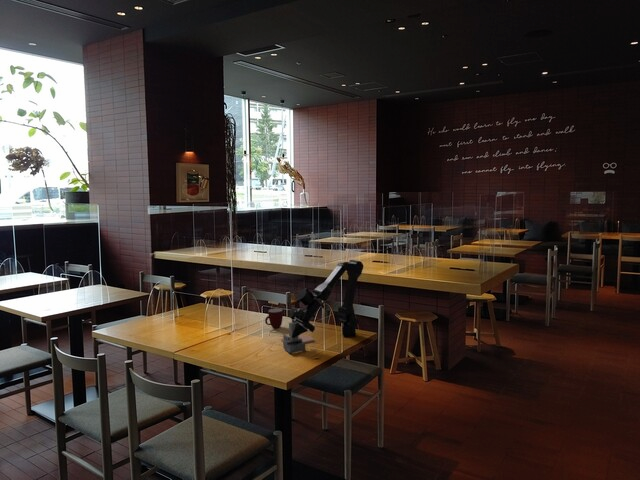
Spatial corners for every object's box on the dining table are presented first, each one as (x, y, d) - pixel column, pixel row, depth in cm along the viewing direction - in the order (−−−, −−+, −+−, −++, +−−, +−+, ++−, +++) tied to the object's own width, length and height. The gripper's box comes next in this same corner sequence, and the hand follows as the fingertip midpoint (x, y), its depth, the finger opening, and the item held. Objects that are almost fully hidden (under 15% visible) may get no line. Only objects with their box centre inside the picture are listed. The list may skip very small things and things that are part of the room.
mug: (271, 332, 261) (270, 314, 260) (262, 329, 267) (261, 311, 266) (286, 327, 268) (285, 310, 267) (277, 324, 274) (276, 307, 273)
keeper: (305, 335, 253) (305, 328, 252) (314, 341, 244) (314, 333, 243) (281, 341, 247) (280, 333, 246) (289, 346, 238) (288, 339, 237)
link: (298, 345, 238) (297, 319, 236) (305, 350, 231) (304, 323, 229) (283, 348, 234) (282, 322, 232) (290, 353, 227) (288, 327, 225)
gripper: (291, 296, 239) (272, 322, 236) (307, 305, 223) (287, 332, 219) (306, 309, 244) (287, 334, 241) (323, 318, 227) (303, 345, 224)
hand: (291, 336), depth 231 cm, fingers closed on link, 3 cm apart
